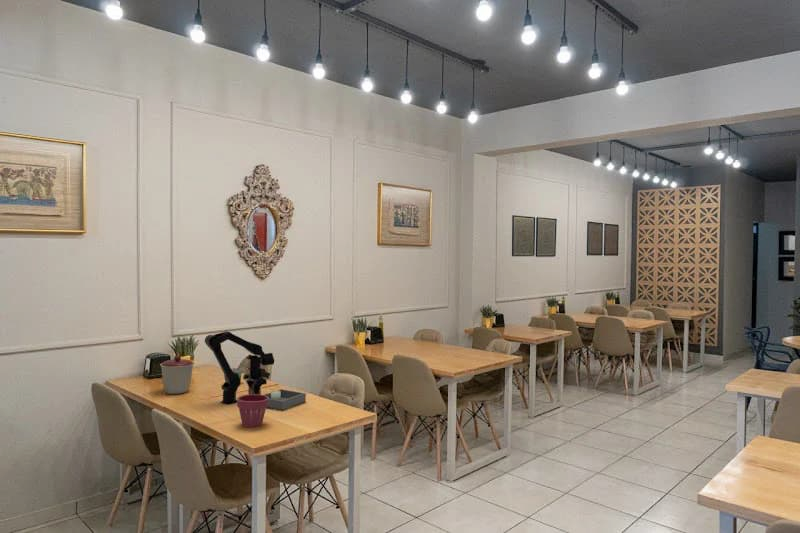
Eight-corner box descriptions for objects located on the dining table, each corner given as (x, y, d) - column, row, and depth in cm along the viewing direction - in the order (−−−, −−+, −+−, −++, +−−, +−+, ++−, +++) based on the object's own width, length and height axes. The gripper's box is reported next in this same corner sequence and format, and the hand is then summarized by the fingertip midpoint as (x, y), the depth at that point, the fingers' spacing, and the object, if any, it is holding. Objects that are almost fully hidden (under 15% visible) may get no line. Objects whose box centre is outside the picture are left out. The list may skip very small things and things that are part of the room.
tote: (282, 411, 280) (282, 401, 280) (256, 406, 288) (256, 396, 288) (305, 402, 298) (305, 393, 298) (280, 397, 305) (281, 389, 305)
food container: (229, 387, 327) (230, 370, 327) (223, 385, 331) (224, 369, 331) (246, 383, 337) (247, 367, 337) (240, 382, 341) (241, 366, 341)
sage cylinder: (276, 406, 285) (276, 393, 285) (268, 405, 287) (268, 392, 287) (282, 404, 290) (282, 391, 289) (274, 403, 292) (275, 390, 292)
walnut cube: (260, 396, 302) (260, 387, 302) (251, 397, 299) (252, 388, 299) (256, 394, 306) (256, 386, 306) (248, 396, 303) (248, 387, 303)
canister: (160, 389, 317) (161, 353, 317) (193, 387, 323) (194, 352, 323) (158, 397, 300) (159, 359, 300) (193, 395, 306) (194, 357, 306)
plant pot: (270, 420, 264) (271, 394, 264) (264, 429, 250) (265, 401, 250) (240, 419, 263) (241, 393, 263) (233, 428, 249) (233, 401, 249)
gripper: (275, 368, 300) (275, 396, 300) (261, 362, 315) (261, 389, 315) (256, 370, 293) (256, 398, 293) (243, 364, 308) (242, 391, 308)
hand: (254, 394), depth 303 cm, fingers closed on walnut cube, 5 cm apart
